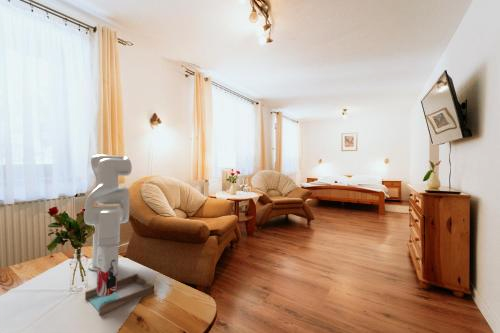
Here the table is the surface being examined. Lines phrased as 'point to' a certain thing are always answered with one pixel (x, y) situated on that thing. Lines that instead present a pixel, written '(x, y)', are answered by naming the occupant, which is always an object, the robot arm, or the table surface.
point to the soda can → (104, 284)
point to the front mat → (102, 300)
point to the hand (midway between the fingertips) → (107, 283)
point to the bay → (126, 299)
